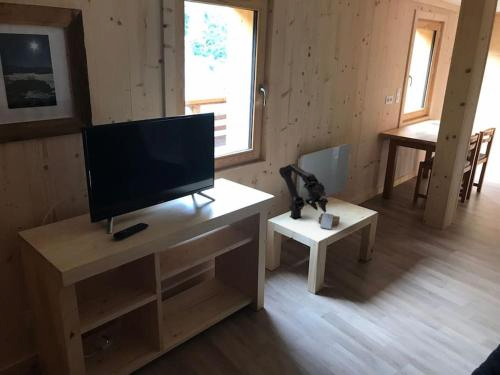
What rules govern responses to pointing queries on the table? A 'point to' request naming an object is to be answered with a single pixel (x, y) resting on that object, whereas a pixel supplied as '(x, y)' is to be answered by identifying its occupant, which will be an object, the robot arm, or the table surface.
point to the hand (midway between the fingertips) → (321, 211)
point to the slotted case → (334, 222)
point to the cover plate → (326, 221)
